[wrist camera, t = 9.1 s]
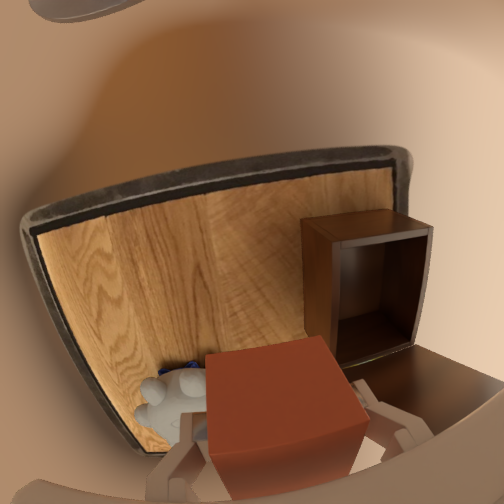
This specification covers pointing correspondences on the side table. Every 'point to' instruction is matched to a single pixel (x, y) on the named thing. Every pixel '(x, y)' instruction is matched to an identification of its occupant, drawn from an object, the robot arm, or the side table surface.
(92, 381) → the side table surface
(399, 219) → the chest
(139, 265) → the side table surface
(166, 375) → the figurine
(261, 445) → the block
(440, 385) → the lid
